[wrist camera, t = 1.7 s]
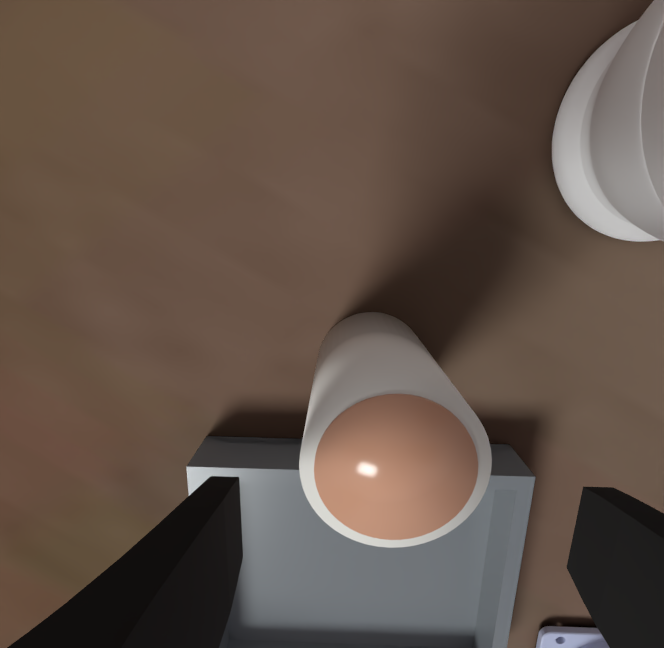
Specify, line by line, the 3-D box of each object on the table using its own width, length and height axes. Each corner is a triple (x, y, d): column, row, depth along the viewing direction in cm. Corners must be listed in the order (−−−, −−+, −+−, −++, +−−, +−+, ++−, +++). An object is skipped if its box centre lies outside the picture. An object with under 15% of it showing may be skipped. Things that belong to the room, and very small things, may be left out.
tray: (509, 444, 18) (535, 476, 16) (479, 646, 21) (498, 699, 19) (206, 435, 18) (186, 466, 16) (220, 637, 22) (205, 688, 19)
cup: (427, 313, 17) (505, 383, 9) (419, 413, 18) (482, 555, 10) (317, 310, 17) (298, 378, 9) (316, 411, 18) (298, 549, 10)
